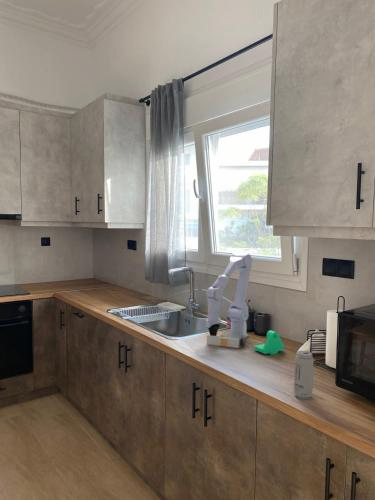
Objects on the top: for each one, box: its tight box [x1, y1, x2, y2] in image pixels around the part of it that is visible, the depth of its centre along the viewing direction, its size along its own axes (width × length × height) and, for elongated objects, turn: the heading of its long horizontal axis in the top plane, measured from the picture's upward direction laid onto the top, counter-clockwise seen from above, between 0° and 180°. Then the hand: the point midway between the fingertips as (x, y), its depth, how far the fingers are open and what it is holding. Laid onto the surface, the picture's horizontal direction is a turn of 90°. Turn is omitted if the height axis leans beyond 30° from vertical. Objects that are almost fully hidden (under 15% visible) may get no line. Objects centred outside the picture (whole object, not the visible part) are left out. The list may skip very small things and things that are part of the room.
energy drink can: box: [293, 350, 315, 400], centre depth 131 cm, size 6×6×15 cm
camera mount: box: [253, 329, 285, 355], centre depth 179 cm, size 12×8×10 cm, turn 121°
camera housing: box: [219, 332, 246, 348], centre depth 188 cm, size 7×11×4 cm, turn 63°
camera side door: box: [206, 334, 241, 349], centre depth 185 cm, size 1×16×4 cm, turn 67°
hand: (213, 339), depth 189 cm, fingers closed
